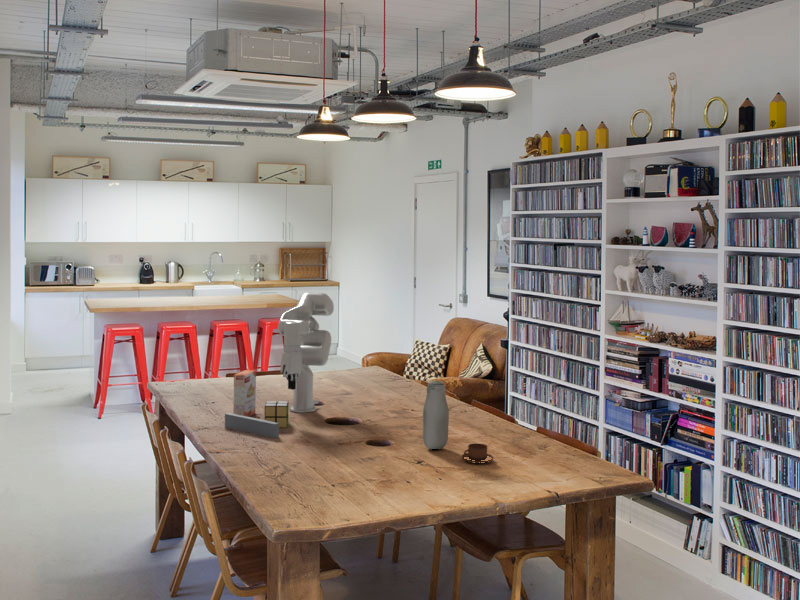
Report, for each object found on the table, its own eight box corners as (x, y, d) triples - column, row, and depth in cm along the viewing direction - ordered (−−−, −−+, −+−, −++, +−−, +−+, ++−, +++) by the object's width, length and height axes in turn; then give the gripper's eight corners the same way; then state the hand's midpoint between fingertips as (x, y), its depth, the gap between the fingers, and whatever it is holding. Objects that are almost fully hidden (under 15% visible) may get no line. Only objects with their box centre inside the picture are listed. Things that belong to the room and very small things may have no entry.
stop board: (229, 426, 366) (229, 412, 365) (278, 437, 349) (278, 423, 348) (224, 427, 364) (224, 413, 363) (274, 438, 347) (274, 424, 346)
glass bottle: (435, 444, 341) (437, 377, 339) (452, 450, 333) (454, 381, 331) (417, 448, 335) (419, 380, 333) (433, 454, 327) (435, 384, 325)
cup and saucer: (480, 468, 310) (481, 452, 310) (455, 461, 318) (455, 445, 318) (499, 461, 319) (499, 446, 319) (474, 455, 327) (474, 440, 326)
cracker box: (245, 420, 377) (245, 375, 375) (232, 419, 378) (232, 374, 377) (256, 413, 391) (256, 370, 389) (244, 412, 392) (244, 369, 390)
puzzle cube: (266, 422, 374) (266, 401, 373) (288, 422, 375) (288, 401, 374) (264, 428, 364) (264, 405, 363) (287, 428, 365) (287, 405, 364)
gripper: (297, 346, 382) (296, 386, 384) (274, 349, 370) (274, 390, 371) (309, 348, 378) (308, 387, 379) (287, 351, 366) (286, 392, 367)
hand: (291, 388), depth 375 cm, fingers closed
